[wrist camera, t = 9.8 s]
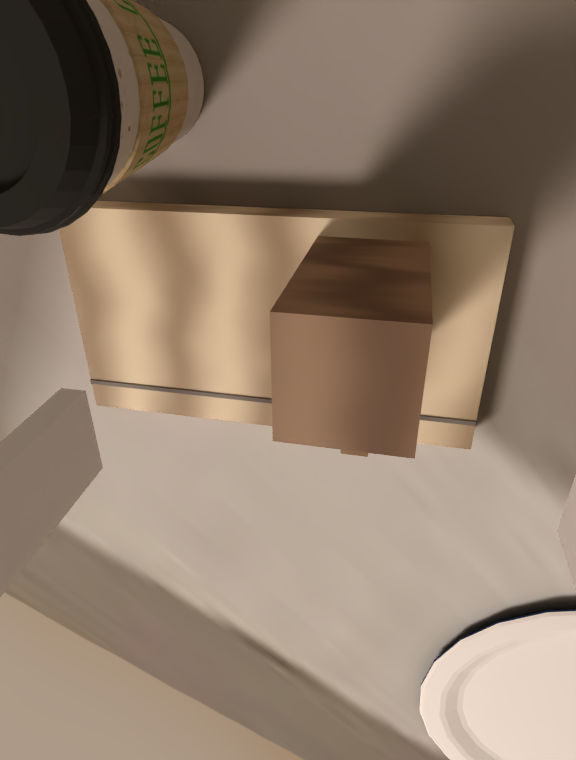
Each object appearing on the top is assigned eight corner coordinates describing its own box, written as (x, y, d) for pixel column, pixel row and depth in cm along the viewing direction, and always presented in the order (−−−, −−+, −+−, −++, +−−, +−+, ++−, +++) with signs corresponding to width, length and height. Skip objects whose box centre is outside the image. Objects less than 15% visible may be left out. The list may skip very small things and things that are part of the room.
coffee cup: (273, 76, 28) (151, 82, 16) (170, 213, 33) (11, 302, 20) (126, -80, 26) (-152, -220, 14) (38, 89, 31) (-227, 102, 18)
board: (110, 391, 41) (96, 405, 39) (72, 199, 34) (53, 206, 32) (468, 431, 36) (470, 450, 34) (509, 217, 29) (515, 226, 27)
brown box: (313, 418, 36) (275, 541, 26) (317, 236, 30) (269, 311, 20) (406, 428, 35) (400, 560, 25) (429, 241, 29) (432, 324, 19)
